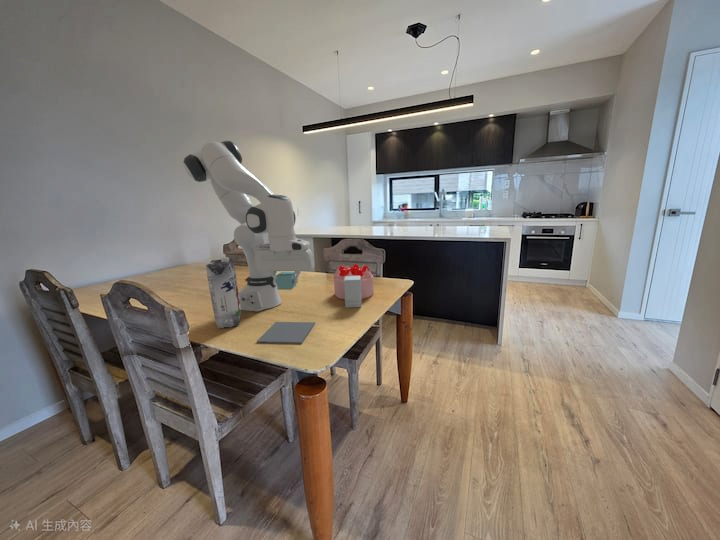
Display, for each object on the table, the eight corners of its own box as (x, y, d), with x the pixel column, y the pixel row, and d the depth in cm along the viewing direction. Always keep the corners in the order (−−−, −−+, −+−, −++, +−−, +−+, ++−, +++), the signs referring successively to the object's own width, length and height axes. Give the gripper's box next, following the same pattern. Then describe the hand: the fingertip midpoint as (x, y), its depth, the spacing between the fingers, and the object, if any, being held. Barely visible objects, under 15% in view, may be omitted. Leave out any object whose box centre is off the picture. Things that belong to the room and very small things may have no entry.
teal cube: (277, 289, 99) (276, 275, 97) (282, 285, 103) (281, 272, 102) (291, 289, 98) (290, 275, 97) (296, 285, 103) (295, 272, 102)
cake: (376, 288, 152) (375, 262, 149) (370, 301, 133) (369, 271, 129) (340, 287, 156) (338, 262, 152) (330, 300, 136) (327, 271, 133)
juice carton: (215, 330, 109) (202, 261, 102) (220, 320, 119) (209, 256, 112) (240, 327, 111) (229, 259, 104) (243, 317, 121) (233, 254, 114)
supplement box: (361, 307, 126) (360, 279, 123) (345, 307, 126) (343, 280, 123) (362, 301, 133) (360, 275, 130) (346, 302, 133) (344, 275, 130)
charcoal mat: (256, 342, 98) (256, 341, 98) (276, 323, 113) (275, 321, 113) (301, 343, 96) (301, 342, 95) (315, 323, 111) (315, 322, 111)
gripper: (249, 245, 95) (254, 285, 98) (309, 245, 93) (312, 285, 96) (257, 242, 101) (262, 280, 105) (314, 242, 99) (316, 280, 102)
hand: (286, 283), depth 100 cm, fingers closed on teal cube, 5 cm apart
